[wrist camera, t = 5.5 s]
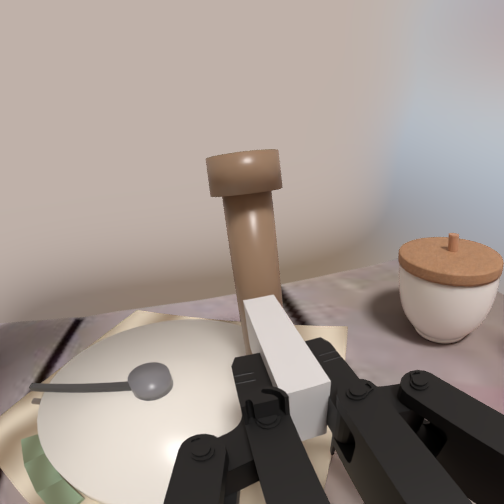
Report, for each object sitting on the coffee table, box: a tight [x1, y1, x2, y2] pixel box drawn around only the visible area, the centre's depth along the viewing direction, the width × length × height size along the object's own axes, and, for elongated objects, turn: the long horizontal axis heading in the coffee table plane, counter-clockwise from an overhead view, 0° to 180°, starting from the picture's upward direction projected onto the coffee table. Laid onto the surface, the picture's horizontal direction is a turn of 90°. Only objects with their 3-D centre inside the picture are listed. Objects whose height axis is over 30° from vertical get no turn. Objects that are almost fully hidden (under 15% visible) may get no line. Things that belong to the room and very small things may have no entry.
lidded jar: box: [398, 233, 504, 343], centre depth 21 cm, size 11×11×9 cm
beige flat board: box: [0, 310, 348, 504], centre depth 17 cm, size 24×25×2 cm
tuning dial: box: [29, 149, 283, 504], centre depth 15 cm, size 21×19×15 cm
